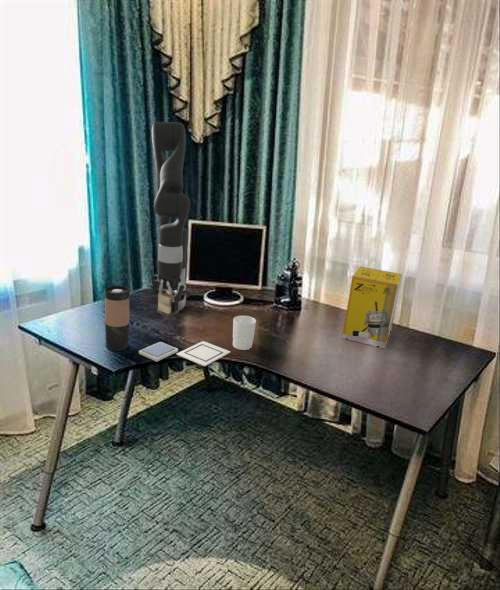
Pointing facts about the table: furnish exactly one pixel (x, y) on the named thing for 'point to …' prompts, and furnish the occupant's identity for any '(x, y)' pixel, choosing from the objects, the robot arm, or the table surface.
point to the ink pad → (158, 351)
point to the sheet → (203, 353)
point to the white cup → (243, 332)
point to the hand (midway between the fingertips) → (168, 309)
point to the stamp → (165, 304)
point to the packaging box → (372, 303)
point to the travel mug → (117, 317)
